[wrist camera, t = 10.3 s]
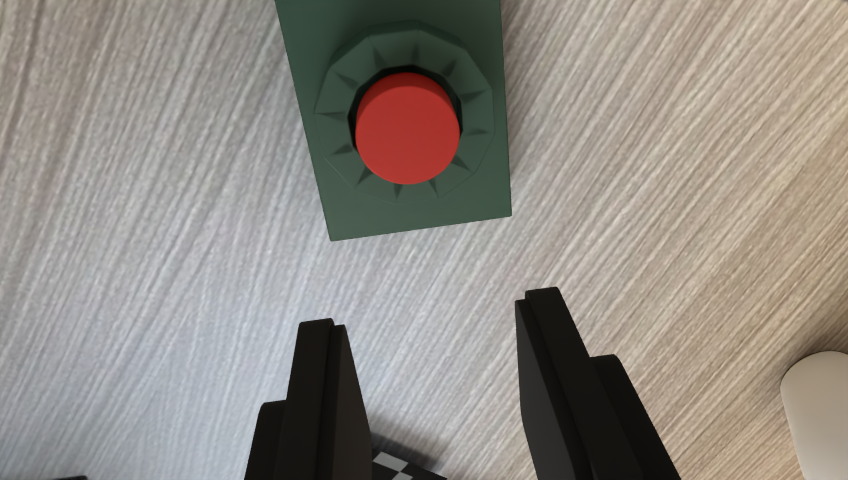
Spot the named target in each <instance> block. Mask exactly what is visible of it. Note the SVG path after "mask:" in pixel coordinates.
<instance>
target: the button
mask: <svg viewBox="0 0 848 480" xmlns="http://www.w3.org/2000/svg"><path fill="white" fill-rule="evenodd" d="M459 137H460V131H459V124H458V120H457V117H456V114H455V111H454V108H453V106H452V103H451V101H450V98H449V96H448V95H447V93H446V92H445V90H444V89H443V88H442V87H441V86H440V85H439V84H438V83H437V82H435V81H434V80H432V79H430V78H428V77H426V76H424V75H421V74H418V73H412V72H400V73H395V74H391V75H388V76H385V77H383V78H381V79H380V80H378V81H377V82H375V83H374V84H373V85H372V86H371V87H370V88H369V89H368V90H367V91H366V93H365V94H364V96H363V97H362V99H361V102H360V104H359V107H358V111H357V120H356V145H357V149H358V152H359V154H360V156H361V158H362V160H363V162H364V163H365V164H366V166H367V167H368V168H369V169H370V170H371V171H372V172H374V173H375V174H376V175H378V176H379V177H381V178H383V179H385V180H387V181H390V182H394V183H398V184H416V183H421V182H424V181H427V180H429V179H431V178H433V177H435V176H436V175H438V174H439V173H441V172H442V171H443V170H444V169H445V168H446V167H447V166H448V165H449V163H450V162H451V161H452V159H453V157H454V156H455V153H456V151H457V148H458V144H459Z"/></svg>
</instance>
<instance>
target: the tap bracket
mask: <svg viewBox="0 0 848 480" xmlns="http://www.w3.org/2000/svg"><path fill="white" fill-rule="evenodd" d="M61 480H87V478H86V476H82V477H75V478H68V479H61Z"/></svg>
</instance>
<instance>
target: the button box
mask: <svg viewBox="0 0 848 480" xmlns="http://www.w3.org/2000/svg"><path fill="white" fill-rule="evenodd" d="M275 4H276V8H277V12H278V17H279V21H280V25H281V30H282V34H283V38H284V43H285V47H286V51H287V56H288V60H289V64H290V69H291V73H292V77H293V82H294V86H295V90H296V95H297V99H298V103H299V108H300V112H301V116H302V121H303V125H304V129H305V134H306V138H307V142H308V147H309V151H310V155H311V160H312V164H313V168H314V173H315V177H316V181H317V186H318V190H319V194H320V199H321V203H322V207H323V212H324V216H325V220H326V225H327V229H328V233H329V238H330V241H339V240H346V239H353V238H360V237H367V236H375V235H382V234H389V233H396V232H403V231H410V230H418V229H425V228H432V227H439V226H446V225H453V224H461V223H468V222H475V221H482V220H489V219H496V218H503V217H510V216H512V207H511V189H510V170H509V151H508V133H507V114H506V96H505V77H504V58H503V40H502V21H501V3H500V0H275ZM400 72H412V73H418V74H421V75H424V76H426V77H428V78H430V79H432V80H434V81H435V82H437V83H438V84H439V85H440V86H441V87H442V88H443V89H444V90H445V92H446V93H447V95H448V96H449V98H450V101H451V103H452V106H453V108H454V111H455V114H456V117H457V120H458V124H459V131H460V137H459V144H458V148H457V151H456V153H455V156H454V157H453V159H452V161H451V162H450V163H449V165H448V166H447V167H446V168H445V169H444V170H443V171H442V172H441V173H439V174H438V175H436V176H435V177H433V178H431V179H429V180H427V181H424V182H421V183H416V184H398V183H394V182H390V181H387V180H385V179H383V178H381V177H379V176H378V175H376V174H375V173H374V172H372V171H371V170H370V169H369V168H368V167H367V166H366V164H365V163H364V162H363V160H362V158H361V156H360V154H359V152H358V149H357V145H356V120H357V111H358V107H359V104H360V102H361V99H362V97H363V96H364V94H365V93H366V91H367V90H368V89H369V88H370V87H371V86H372V85H373V84H374V83H375V82H377V81H378V80H380V79H381V78H383V77H385V76H388V75H391V74H395V73H400Z"/></svg>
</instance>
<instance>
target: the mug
mask: <svg viewBox="0 0 848 480" xmlns="http://www.w3.org/2000/svg"><path fill="white" fill-rule="evenodd" d="M780 392H781V397H782V401H783V404H784V408H785V412H786V416H787V420H788V424H789V428H790V431H791V435H792V439H793V443H794V447H795V450H796V454H797V458H798V461H799V464H800V467H801V470H802V473H803V476H804V479H805V480H848V355H846V354H844V353H841V352H836V351H825V352H819V353H815V354H812V355H810V356H807V357H805V358H804V359H802V360H800V361H799V362H797V363H796V364H795V365H793V366H792V367H791V368H790V369H789V370H788V371H787V373H786V374H785V376H784V377H783V379H782V382H781V386H780Z"/></svg>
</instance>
